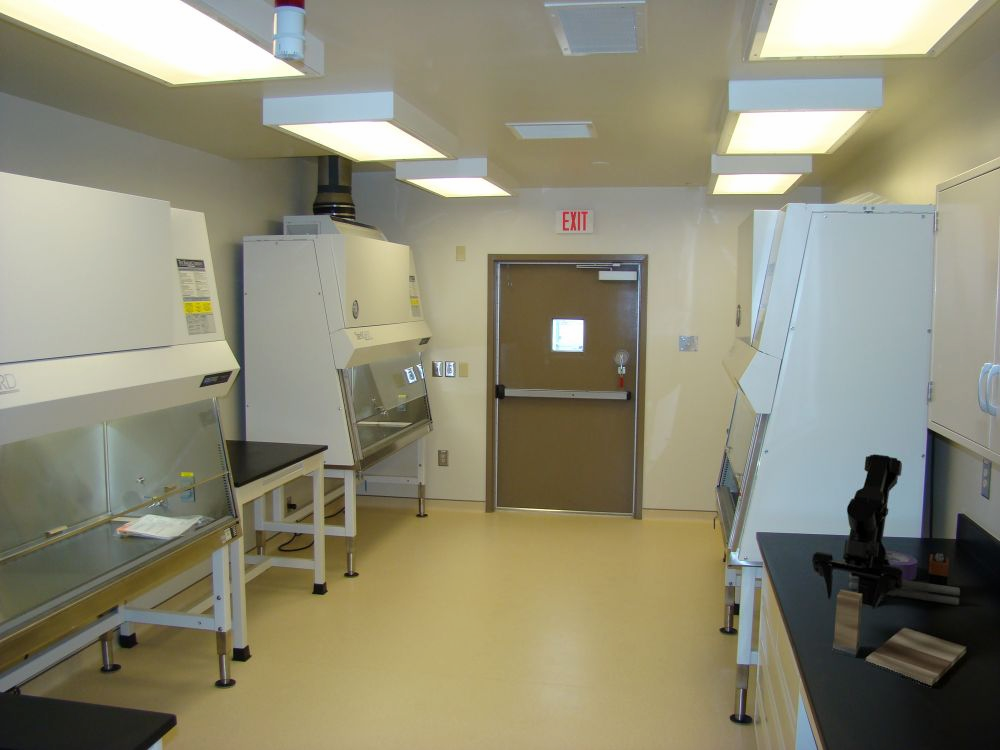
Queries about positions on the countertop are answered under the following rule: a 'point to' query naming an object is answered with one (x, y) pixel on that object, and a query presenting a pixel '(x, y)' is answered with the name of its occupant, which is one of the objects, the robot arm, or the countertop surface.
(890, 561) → the tape roll
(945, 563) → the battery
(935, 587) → the metal rod assembly
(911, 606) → the countertop surface
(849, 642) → the tall wooden post
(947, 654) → the subfloor panel
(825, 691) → the countertop surface
